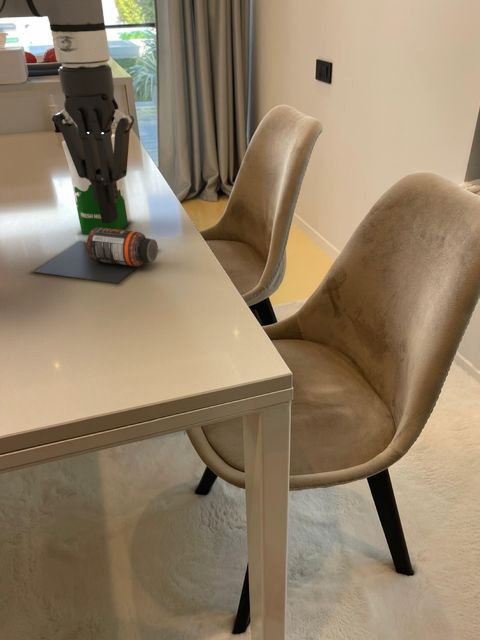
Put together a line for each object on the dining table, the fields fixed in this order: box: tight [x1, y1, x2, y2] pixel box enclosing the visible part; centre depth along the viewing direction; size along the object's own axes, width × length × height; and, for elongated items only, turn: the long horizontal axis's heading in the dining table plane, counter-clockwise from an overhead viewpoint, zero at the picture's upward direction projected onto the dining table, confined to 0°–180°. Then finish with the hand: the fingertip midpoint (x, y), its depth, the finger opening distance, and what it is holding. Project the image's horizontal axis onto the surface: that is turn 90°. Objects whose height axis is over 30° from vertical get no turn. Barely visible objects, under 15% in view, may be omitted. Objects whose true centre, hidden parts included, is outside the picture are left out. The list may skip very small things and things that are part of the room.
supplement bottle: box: [86, 228, 159, 267], centre depth 97 cm, size 6×6×11 cm
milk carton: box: [61, 126, 129, 235], centre depth 108 cm, size 9×9×20 cm
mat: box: [34, 241, 139, 285], centre depth 99 cm, size 16×14×1 cm
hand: (109, 220), depth 94 cm, fingers closed
